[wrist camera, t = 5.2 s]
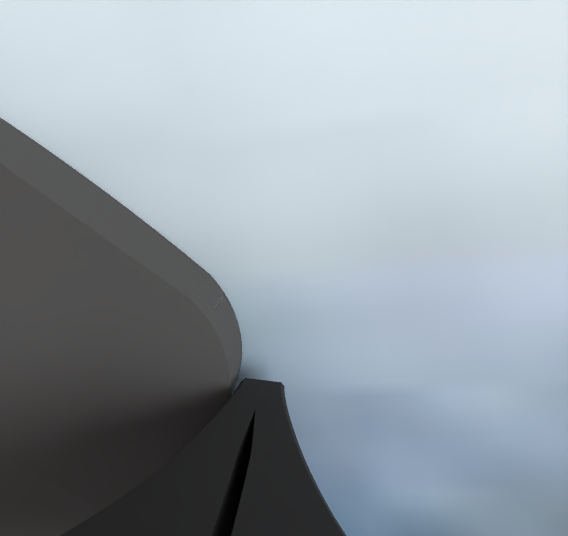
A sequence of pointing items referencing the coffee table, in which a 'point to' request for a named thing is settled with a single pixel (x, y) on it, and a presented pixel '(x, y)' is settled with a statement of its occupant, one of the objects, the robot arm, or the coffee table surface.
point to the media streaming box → (95, 344)
